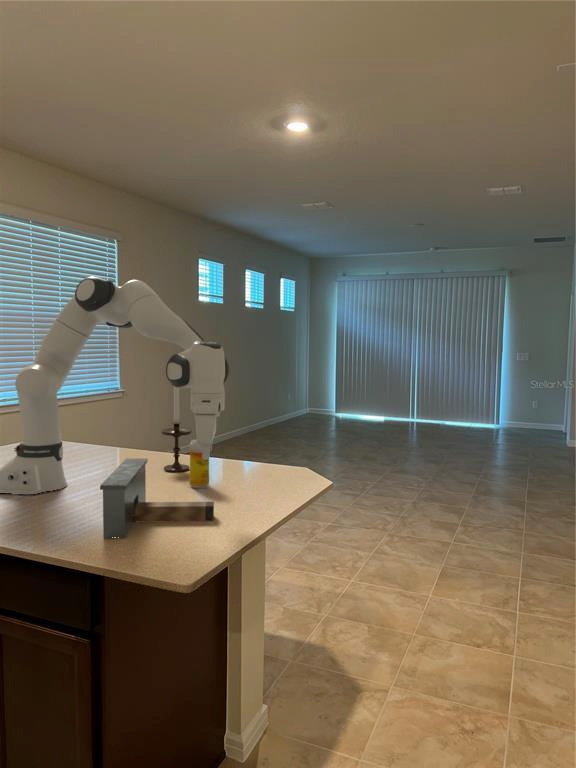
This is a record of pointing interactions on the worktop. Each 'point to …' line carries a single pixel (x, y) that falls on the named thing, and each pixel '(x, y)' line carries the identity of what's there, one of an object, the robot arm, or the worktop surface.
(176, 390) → the candlestick
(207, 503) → the rod
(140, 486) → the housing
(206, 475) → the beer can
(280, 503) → the worktop surface
